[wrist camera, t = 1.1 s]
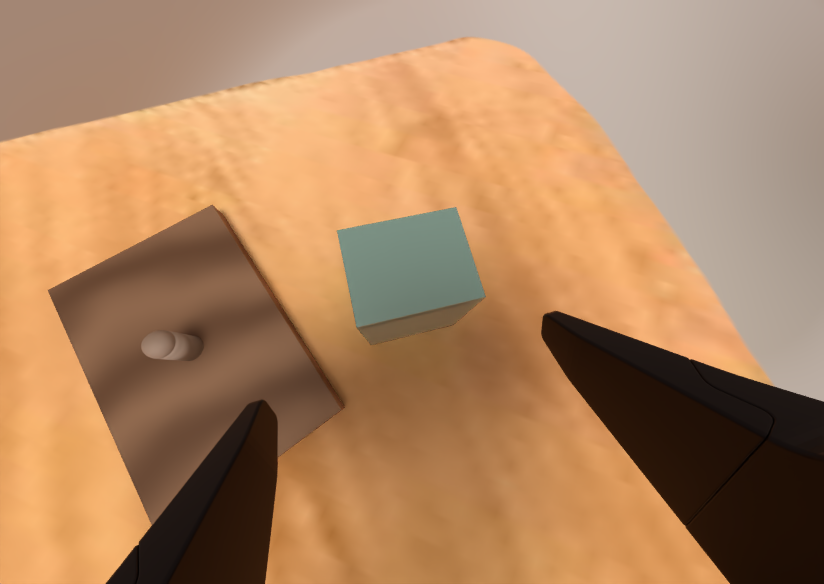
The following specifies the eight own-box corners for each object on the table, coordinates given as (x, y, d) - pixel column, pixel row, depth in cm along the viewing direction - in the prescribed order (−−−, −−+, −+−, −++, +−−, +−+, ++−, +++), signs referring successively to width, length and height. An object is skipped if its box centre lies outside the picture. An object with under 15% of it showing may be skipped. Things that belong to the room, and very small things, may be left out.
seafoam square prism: (453, 324, 24) (485, 296, 16) (370, 345, 23) (356, 327, 15) (435, 263, 26) (456, 207, 17) (357, 281, 25) (337, 230, 16)
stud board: (344, 407, 22) (329, 416, 17) (178, 531, 19) (102, 586, 14) (222, 214, 26) (181, 175, 21) (69, 295, 23) (-21, 273, 18)
